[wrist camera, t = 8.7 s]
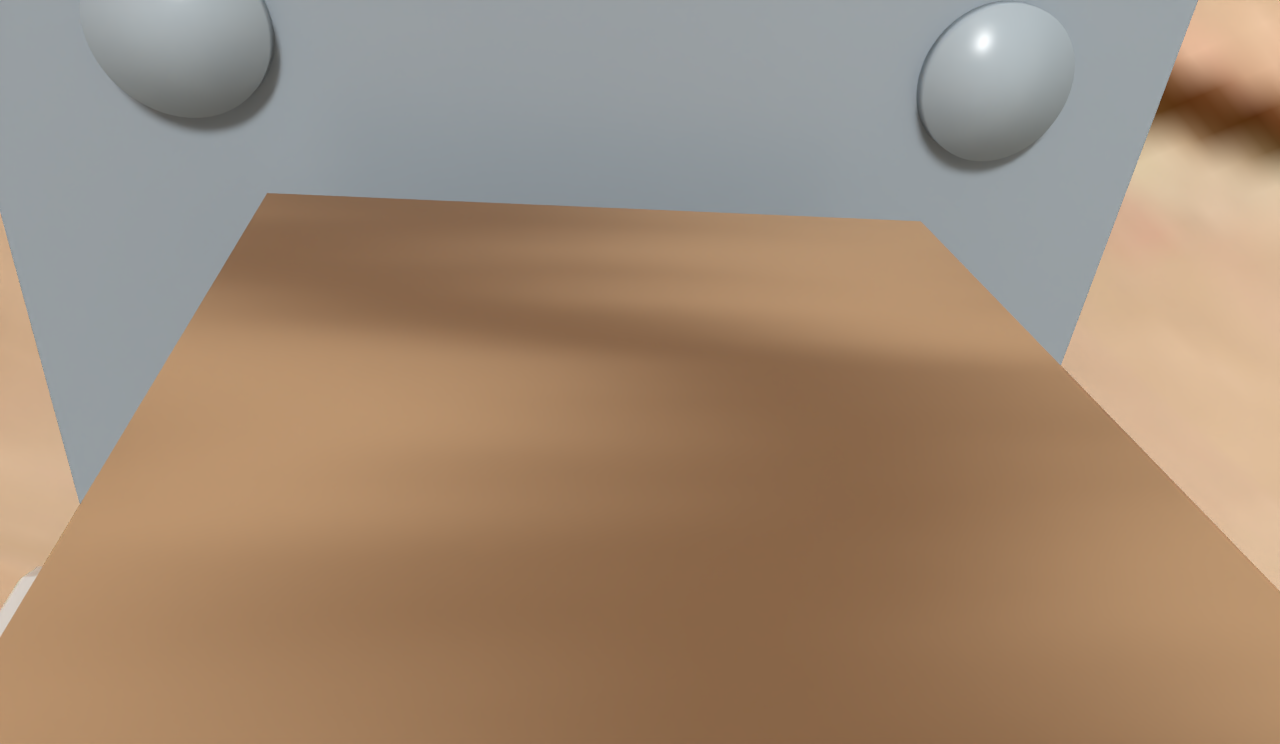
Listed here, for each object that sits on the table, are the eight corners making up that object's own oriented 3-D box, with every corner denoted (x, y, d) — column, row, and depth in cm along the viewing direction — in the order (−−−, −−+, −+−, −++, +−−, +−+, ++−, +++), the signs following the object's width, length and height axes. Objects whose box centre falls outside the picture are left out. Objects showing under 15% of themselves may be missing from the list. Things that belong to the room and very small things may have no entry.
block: (323, 670, 11) (171, 1397, 6) (266, 194, 8) (-132, 854, 3) (806, 657, 12) (1023, 1279, 7) (920, 221, 9) (1451, 768, 4)
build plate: (166, 684, 14) (140, 752, 13) (-64, -254, 8) (-143, -261, 7) (908, 662, 16) (935, 721, 15) (1178, -122, 10) (1254, -113, 9)
